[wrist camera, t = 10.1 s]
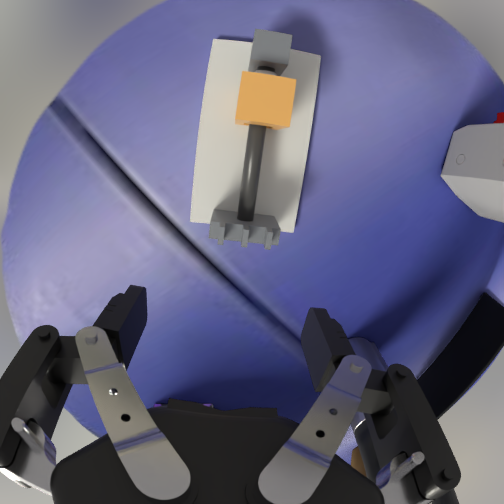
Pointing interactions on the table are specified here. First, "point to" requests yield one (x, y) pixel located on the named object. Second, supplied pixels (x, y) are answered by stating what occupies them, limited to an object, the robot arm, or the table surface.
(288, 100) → the sleeve
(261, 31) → the cord rig
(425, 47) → the table surface
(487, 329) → the laptop
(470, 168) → the electrical switch box
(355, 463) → the plant pot
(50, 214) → the table surface
